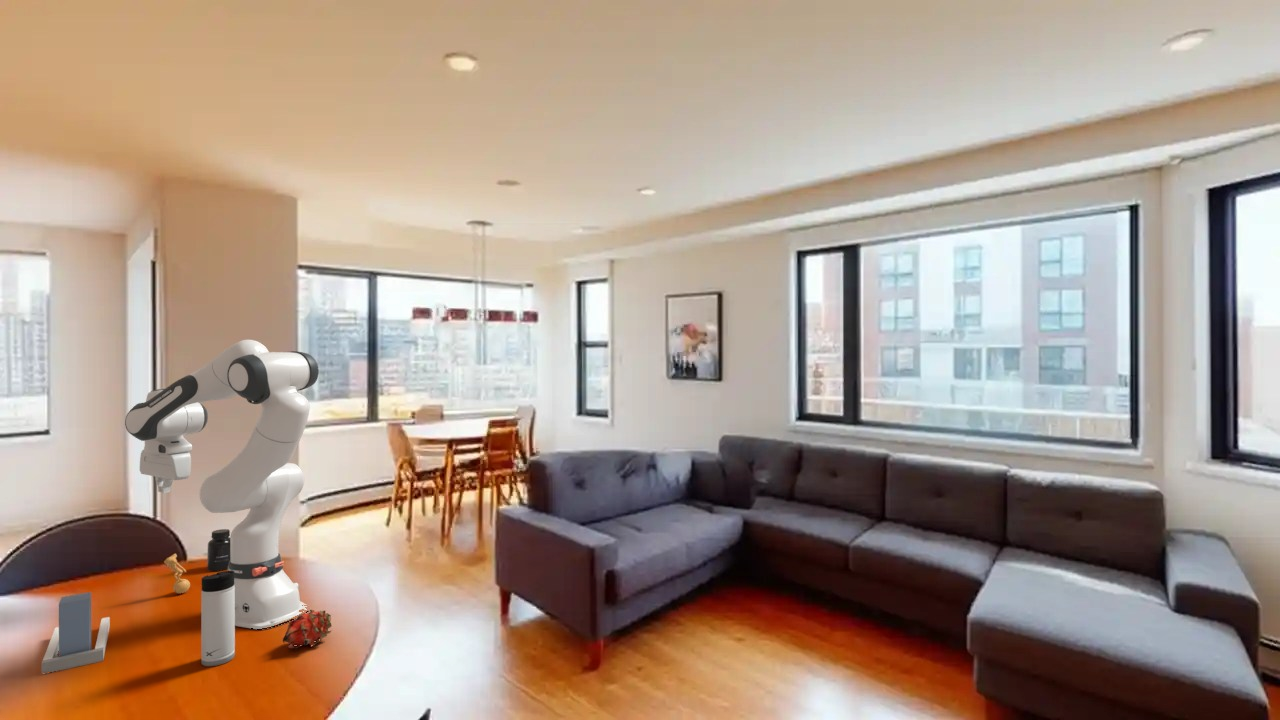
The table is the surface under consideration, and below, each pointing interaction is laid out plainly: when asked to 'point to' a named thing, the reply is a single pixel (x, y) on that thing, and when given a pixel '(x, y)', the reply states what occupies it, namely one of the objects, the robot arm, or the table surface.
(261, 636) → the table surface
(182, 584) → the figurine
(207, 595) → the travel mug
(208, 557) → the supplement bottle
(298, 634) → the dragon fruit
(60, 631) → the block
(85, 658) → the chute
